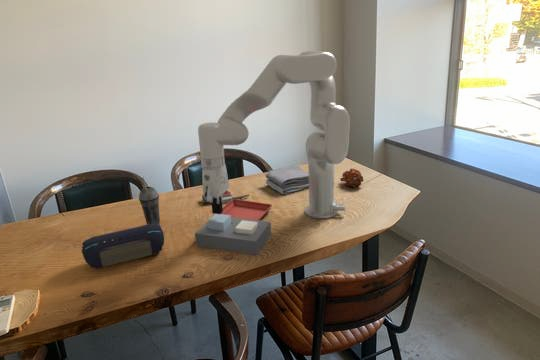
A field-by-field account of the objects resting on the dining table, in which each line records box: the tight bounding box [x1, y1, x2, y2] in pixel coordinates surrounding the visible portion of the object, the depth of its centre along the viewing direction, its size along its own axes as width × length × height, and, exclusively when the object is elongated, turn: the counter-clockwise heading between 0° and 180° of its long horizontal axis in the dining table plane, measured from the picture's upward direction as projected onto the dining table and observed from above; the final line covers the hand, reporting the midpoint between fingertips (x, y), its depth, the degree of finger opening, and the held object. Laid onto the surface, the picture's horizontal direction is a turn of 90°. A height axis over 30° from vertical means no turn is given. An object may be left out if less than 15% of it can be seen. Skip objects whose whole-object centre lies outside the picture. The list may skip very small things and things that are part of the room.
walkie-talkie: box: [201, 189, 250, 206], centre depth 171 cm, size 9×4×20 cm
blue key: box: [207, 214, 231, 231], centre depth 137 cm, size 6×6×5 cm
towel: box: [265, 163, 309, 195], centre depth 181 cm, size 15×18×8 cm
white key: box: [235, 220, 258, 235], centre depth 135 cm, size 6×6×5 cm
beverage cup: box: [138, 176, 161, 226], centre depth 148 cm, size 7×7×20 cm
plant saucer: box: [212, 199, 273, 221], centre depth 154 cm, size 18×18×3 cm
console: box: [194, 217, 272, 256], centre depth 137 cm, size 22×14×5 cm, turn 70°
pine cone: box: [339, 167, 364, 188], centre depth 178 cm, size 8×8×12 cm
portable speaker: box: [81, 224, 165, 269], centre depth 128 cm, size 25×10×10 cm, turn 114°
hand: (217, 212), depth 136 cm, fingers closed
